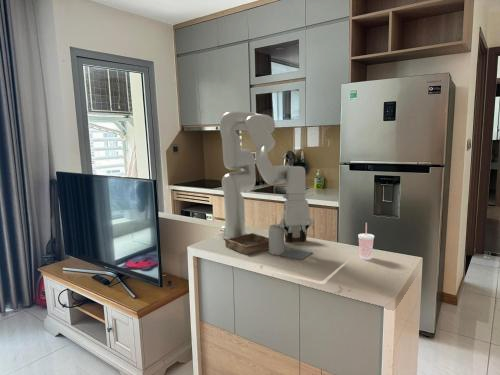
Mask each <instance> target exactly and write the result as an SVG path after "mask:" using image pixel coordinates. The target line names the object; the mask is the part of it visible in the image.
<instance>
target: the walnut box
mask: <svg viewBox="0 0 500 375" xmlns="http://www.w3.org/2000/svg"><path fill="white" fill-rule="evenodd" d="M224 240H225V241H224V242H225V243H224V244H225V247H226V248H227V249H230V250H233V251H235V252H238V253H241V254H243V255H245V256H248V255H252V254H256V253H259V252H263V251H266V250H269V237H267V236H264V235H261V234H257V233H254V232H252V233H247V234H246V235H242V236H237V237H233V238H228V239H224ZM253 241H254V242H256V243H254V244H250V245H245V244H243V243H248V242H253Z"/></svg>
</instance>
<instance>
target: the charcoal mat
mask: <svg viewBox="0 0 500 375" xmlns="http://www.w3.org/2000/svg"><path fill="white" fill-rule="evenodd" d="M311 255H313V251H307V250H302V249H297V248H289V249H288V250H287V251H284V253H282V254H280V255H279V256H280V257H284V258H288V259H294V260H300V261H302V260H304V259H306V258H308V257H309V256H311Z"/></svg>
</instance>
